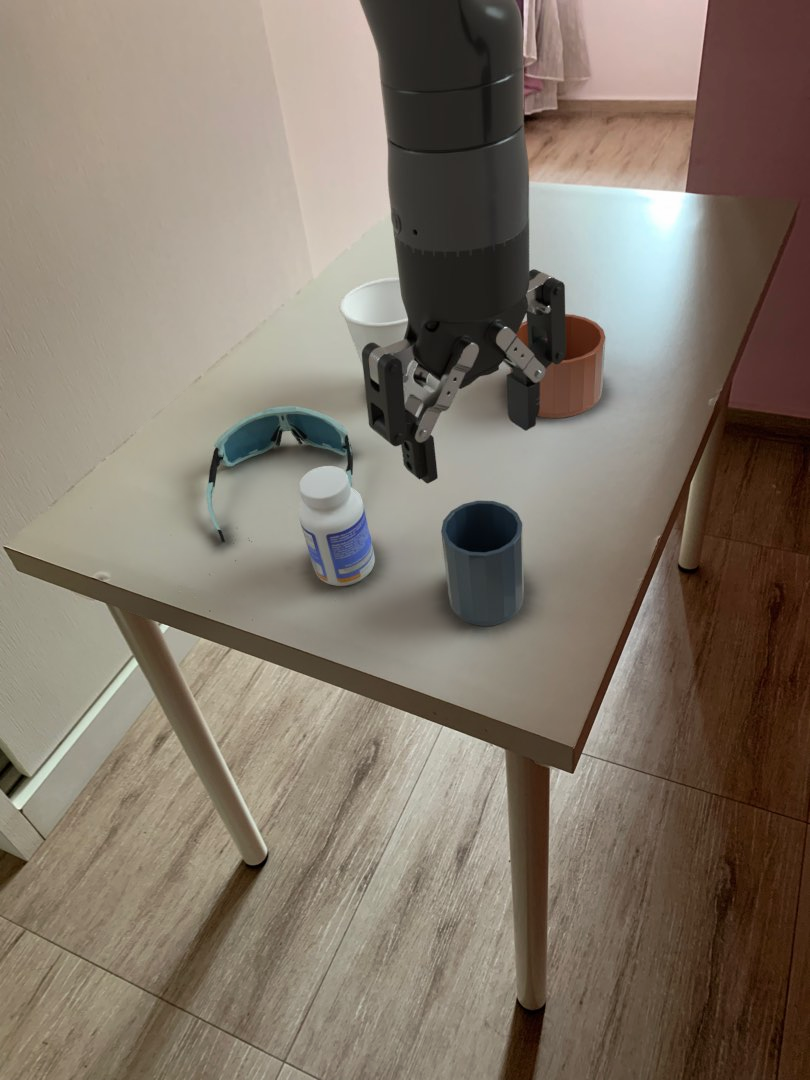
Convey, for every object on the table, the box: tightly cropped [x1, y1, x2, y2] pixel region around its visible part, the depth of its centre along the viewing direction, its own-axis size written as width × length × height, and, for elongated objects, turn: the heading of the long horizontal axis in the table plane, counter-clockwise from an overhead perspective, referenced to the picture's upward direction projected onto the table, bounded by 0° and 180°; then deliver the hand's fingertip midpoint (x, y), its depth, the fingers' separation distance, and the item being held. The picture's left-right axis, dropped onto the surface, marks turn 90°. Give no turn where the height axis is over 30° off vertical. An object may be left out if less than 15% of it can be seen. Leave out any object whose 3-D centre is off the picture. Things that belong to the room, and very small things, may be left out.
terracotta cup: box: [509, 313, 607, 419], centre depth 84 cm, size 10×10×6 cm
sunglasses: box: [205, 405, 354, 543], centre depth 78 cm, size 14×15×5 cm
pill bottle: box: [297, 465, 376, 587], centre depth 67 cm, size 5×5×10 cm
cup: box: [338, 276, 429, 394], centre depth 86 cm, size 10×10×11 cm
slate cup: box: [440, 500, 525, 627], centre depth 63 cm, size 6×6×8 cm
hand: (474, 449), depth 56 cm, fingers open, 8 cm apart
